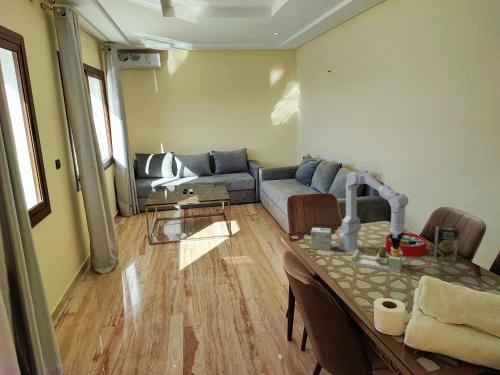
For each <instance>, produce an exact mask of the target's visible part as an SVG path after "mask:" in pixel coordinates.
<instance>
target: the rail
mask: <svg viewBox="0 0 500 375" xmlns="http://www.w3.org/2000/svg"><path fill="white" fill-rule="evenodd" d="M402 254H403V252H400V254H399V257H394V256H392V251H391V252H390V254H389V258H388V261H387V264H385V263H379V262H375V259H376V256H371V255H366V254H360V249H358V250H357V249H356V251H355V252H353V254H352V256H351V265H354V266H359V267H364V266H365V268H369V267H370V269H375V268H376V269H375V270H381V271H387V272H391V273H392V272H393V273H398V274H400V272H401V268H402V265H403V256H402Z"/></svg>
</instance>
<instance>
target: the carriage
mask: <svg viewBox="0 0 500 375" xmlns="http://www.w3.org/2000/svg"><path fill="white" fill-rule="evenodd" d="M389 256H390V254H389V253H387V249H386V246H379V248H378V253H377V255H376V256H375V257H376V259H375V262H379V263H385V264H387V261H388V259H389Z"/></svg>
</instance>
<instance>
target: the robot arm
mask: <svg viewBox="0 0 500 375" xmlns="http://www.w3.org/2000/svg"><path fill="white" fill-rule="evenodd" d="M364 184H366V185H368V186H370V187H371V188H372V189H374V190H375V191H378V194H379V196H380V197H382V198H383V199H384V200H386V201H387V202H388V204H389V205H390V210H391V219H390V228H389V230H390V232H391V233H389V234H390V238H391V240H392V245H393V249H398V248H399V245H400V241H401V239H402V238H403V234H404V233H407V231H408V230H407V229H406V228H405V216H406V215H405V214H406V206H407V205H408V204H409V198H408V197H407V195H406V193H405V194H404V193H399V192H398V191H396V190H394V189H393V188H392V187H391V185H383V184H382V183H380V181H378V180H376V178H375V177H373V176H372V175H371V173H370V172H368V171H367V170H360V171H359V170H358V171H353V172H350V173H349V174H347V175H346V182H345V216H344V218H343V219H342V220H341V222H342V223H341V225H340V230H341V231H340V233H339V238H338V239H339V242H338V243H339V244H338V250H339V251H340V250H341V251H348V252H353V253H354V252H355V251H356V249H357V250H359V249H360V246H359V245H358V243H359V242H358V240H359V239H358V235H359V232H360V231H361V229H362V225H361V221H360V220H361V219H360V218H359V217H358V216H357V212H358V211H357V210H358V207H357V206H358V204H357V198H358V197H357V192H358V191H357V190H358V189H357V188H359V187H360V185H364Z"/></svg>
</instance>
